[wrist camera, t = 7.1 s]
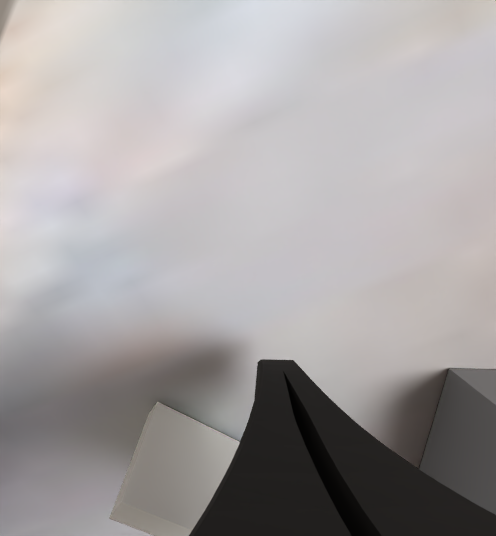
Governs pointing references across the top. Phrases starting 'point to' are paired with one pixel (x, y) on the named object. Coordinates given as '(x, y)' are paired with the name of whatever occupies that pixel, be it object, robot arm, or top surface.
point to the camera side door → (172, 474)
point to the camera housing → (465, 437)
